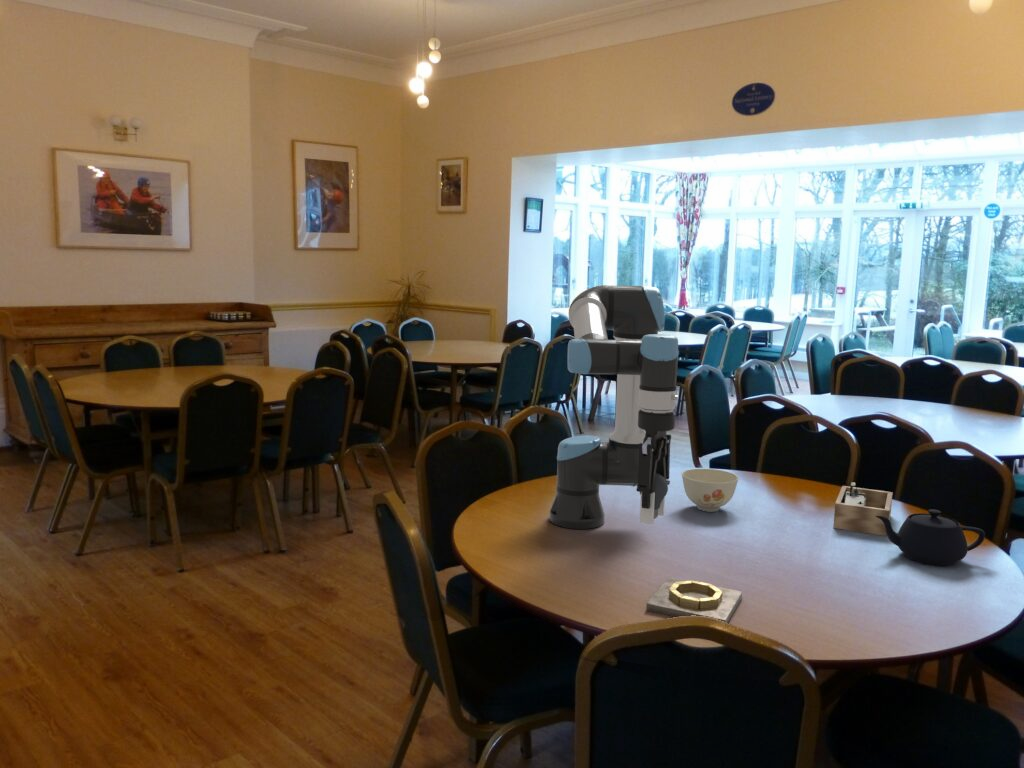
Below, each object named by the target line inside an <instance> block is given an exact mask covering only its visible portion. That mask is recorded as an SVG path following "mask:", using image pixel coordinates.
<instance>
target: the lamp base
mask: <svg viewBox="0 0 1024 768" xmlns="http://www.w3.org/2000/svg"><path fill="white" fill-rule="evenodd" d="M742 598H743V591H741V590H735V589H731V588H725V587H721V586H715V585H713V584H711V583H709V582H708V583H707V582H702V581H696V580H684V579H681V578H680V579H678V578H674V577H670V576H669V577H668V578H667V579H666V580H665V581H664V583H663V584H662V585H661V586H660V587H659V588H658V589H657V591H656V592H655V593H654V594H653V595H652V596H651V598H650V599H649V600H648V601H647V602H646V609H645V610H646V611H648V612H652V613H656V614H662V615H667V616H670V617H675V616H691V615H696V616H706V617H711V618H715V619H718V620H721V621H724V622H727V624H728V623H729V622H730V620H731V618H732V616H733V615H734V613H735V611H736V609H737V607H738V606H739V604H740V602H741V601H742Z"/></svg>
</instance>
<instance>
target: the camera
mask: <svg viewBox="0 0 1024 768" xmlns="http://www.w3.org/2000/svg"><path fill="white" fill-rule="evenodd" d="M849 487H850V492H846V494H845V498H844V499H843V500H844V502H843V503H845V504H852V505H860V506H866V494H864V493H858V492H859V491H858V489H857V488H858V487H856V482H852V481H851V482H850V485H849ZM853 487H856V489H855V490H854V492H852V488H853Z"/></svg>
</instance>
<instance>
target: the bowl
mask: <svg viewBox="0 0 1024 768" xmlns="http://www.w3.org/2000/svg"><path fill="white" fill-rule="evenodd" d="M681 476H682V477H681V478H682V483H683V484H682V485H683V489H684V492H685V495H686V497H687V498H688V499H689V500H690V501H691V503H693V504H694V505H696V509H697V510H699V511H701V510H702V512H705V511H706V512H707V513H715V512H719V510H720V508H721V507H723V506H725V505H726V504H728V503H729V502H730V501H731V500H732V498H733V496H734V494H735V492H736V488H737V485H738V481H739V477H738V475H736V474H735V473H732V472H730V471H726V470H720V469H712V468H692V469H686V470H685V471H683V472H681Z"/></svg>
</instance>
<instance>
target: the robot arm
mask: <svg viewBox="0 0 1024 768" xmlns="http://www.w3.org/2000/svg"><path fill="white" fill-rule="evenodd" d="M664 307H665V306H664V300H663V295H662V292H661V291H660V289H659V288H658V287H656V286H649V285H648V286H647V285H607V284H605V285H604V284H603V285H597V286H591V287H590V288H587V289H585V290H583V291H582V292H581V293H579V294H578V295H577V296H576V297H575V298H574V299H573V300H572V301H571V303H570V305H569V309H568V320H569V324H570V325H571V327H572V328H573V334H574V338H572V339H570V340H569V341H568V344H567V370H568V371H569V372H570V373H572V374H581V375H616V376H617V377H616V397H615V398H616V399H615V418H614V419H615V423H614V431H612V432H611V433H610V434H609V436H608V442H607V441H605V442H604V441H603V442H602V439H601V437H600V436H599V435H598V436H597V435H592V434H591V435H589V434H588V435H587V434H585V435H577V436H572V437H567V438H565V439H563V440H561V441H560V442H559V443H558V447H557V455H556V460H557V465H556V467H557V469H556V470H557V471H556V492H555V495H554V499H553V501H552V503H551V507H550V510H549V519H550V520H549V522H550V521H551V522H552V523H551V522H550V523H551V524H553V523H554V524H553V525H555V526H557V525H558V526H557V527H560V526H561V528H566V529H573V530H583V529H584V530H587V529H588V530H589V529H594V528H597V527H601V526H602V525H604V523H605V510H604V506H603V504H602V500H601V497H600V486H623V487H624V486H630V487H636V492H637V493H638V492H639V493H640V492H641V494H640V509H639V510H640V511H639V523H643V524H649V525H653V524H654V520H655V519H654V501H655V492H653V488H654V481H655V474H656V473H657V474H660V475H661V476H663V477H664V478H665V480H666V482H667V485H668V486H670V483H671V481H670V464H671V463H670V459H671V458H670V456H671V441H672V434H671V433H670V434H669V433H667V432H669V431H673V430H675V428H676V427H675V426H676V413H675V411H674V410H675V409H676V402H677V401H678V400H679V396H678V395H677V378H678V377H677V376H678V363H679V362H678V360H679V355H680V350H679V339H678V337H677V336H676V335H671V334H663V333H662V334H661V333H659V332H663V331H664V330H665V321H666V319H665V308H664ZM607 331H613V332H612V333H613V334H612V337H613V338H614V339H609V338H608V332H607ZM665 498H666V496H665V497H664V498H663V500H662V502H661V504H660V508H659V509H658V516H662V517H663V516H665V506H666V505H665V501H666V499H665Z"/></svg>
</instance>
